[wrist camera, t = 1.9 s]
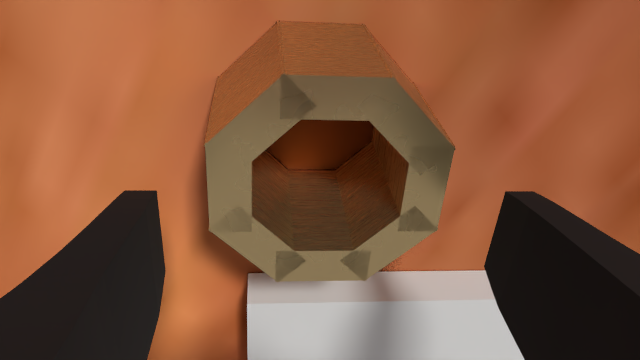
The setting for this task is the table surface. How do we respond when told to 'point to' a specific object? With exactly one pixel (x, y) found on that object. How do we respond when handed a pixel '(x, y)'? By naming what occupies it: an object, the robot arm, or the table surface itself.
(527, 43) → the table surface
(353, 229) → the ring
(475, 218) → the table surface
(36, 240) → the table surface
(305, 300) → the grey peg base
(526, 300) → the robot arm
